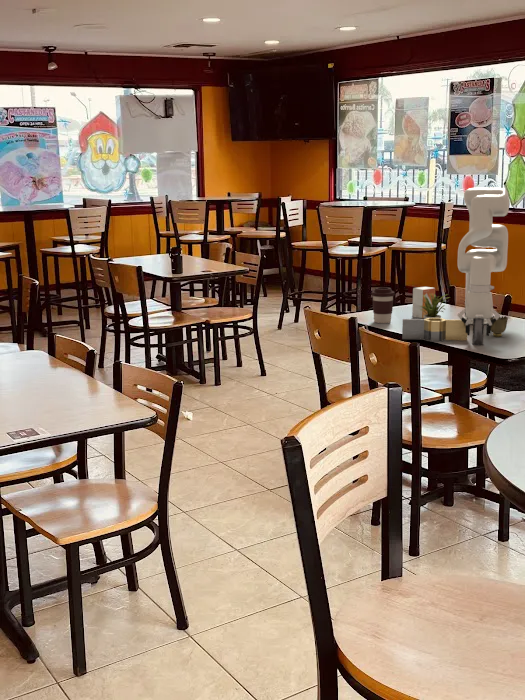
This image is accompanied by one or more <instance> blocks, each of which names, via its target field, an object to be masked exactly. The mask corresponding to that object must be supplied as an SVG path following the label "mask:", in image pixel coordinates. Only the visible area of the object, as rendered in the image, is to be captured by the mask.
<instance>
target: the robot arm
mask: <svg viewBox="0 0 525 700" xmlns="http://www.w3.org/2000/svg"><path fill="white" fill-rule="evenodd" d="M463 199H464V203H465V206H466V209H467V211H468V213H469V214H468V215H469V224H468V225H469V226H468V227H469V228H468V232H467V233H466V234H465V235H463V237H462V238H461V240H460V242H459V244H458V249H457V268H458V271H459V272H461V273H464V274H465V297H464V300H465V301H464V308H463V309H462V310H460V312H459V313H457V317H458V318H459V320H462V321H463V322H464V323H465V324H466V331H465V332H466V333H467V337H468V336H470V335H471V334H470V333H471V332H470V331H471V329H470V328H471V325H473V319H476V318H482V319H484V325H486V330H485V331H486V333H485V334H486V336H487V337H489V336H490V334H491V333H492V332H491V325H492V324H493V323H494V322H495V321H496V320H497V319H498V318H499V317H501V314H500V313H499V312H497V311H496V309H495V308H494V303H493V294H492V292H493V290H495V286H494V285H491V279H492V278H491V273H493V272H494V273H498V272H504V271H505V270H506V268H507V265H508V249H509V246H508V245H509V231H508V228H507V226H505V225H503V224H493V217H505V216H507V215H508V213H509V210H510V209H509V208H510V197H509V192H508V190H507V188H505V187H471V188H470V187H469V188H468V189H466V190H465V191H464V193H463ZM468 246H472V247H475V249H473V248H472V249H469V250H468V251H467V252H466V249H467V248H468ZM486 248H488V249H486ZM489 248H493V249H489ZM491 291H492V292H491ZM476 314H478V315H483V317H475V315H476ZM493 316H494V318H493V319H492V320H490V318H492V317H493Z"/></svg>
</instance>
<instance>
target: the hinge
mask: <svg viewBox="0 0 525 700" xmlns="http://www.w3.org/2000/svg"><path fill="white" fill-rule="evenodd" d="M465 331H466V324H465V323H464V322H463V321H462V320H461V319H445V318H443V317H441V318H427V319H424V318H417V319H416V318H403V319H402V331H401V334H402V336H401V339H402V340H421V341H422V340H424V341H426V342H431V343H432V342H434V343H435V342H437V343H439V342H444V341H468V335H467V333H466V332H465Z"/></svg>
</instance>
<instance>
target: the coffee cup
mask: <svg viewBox="0 0 525 700" xmlns="http://www.w3.org/2000/svg"><path fill="white" fill-rule="evenodd" d="M371 296H372V312H373V321H374V322H375V323H376V324H389V323H391V322H392V315H393V310H394V309H393V306H394V296H395V291H394V290H392V288H391V287H386V286H385V287H384V286H380V287H379V286H378V287H375V289H374V290H372V291H371Z"/></svg>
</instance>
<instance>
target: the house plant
mask: <svg viewBox="0 0 525 700" xmlns="http://www.w3.org/2000/svg"><path fill="white" fill-rule="evenodd" d="M429 294H430V293H429ZM430 295H432V294H430ZM448 295H449V294H448V293H447V294H443V295H442V296H440V298H439V296H437V295H436V293H435V294H434V299H433V297H432V296H431V299H432V305H431V303H430V302H429V300H428V298H427V297H425V296H424V295H423V296H424V298H425V300H426V302H424V301H423V300H422V299H421V300H422V301H423V302H424V303H425V306H424V307H423V306H420V307H422V308H424V309H425V310H426V311H427V313H428V315H424V318H423V319H427V318H442V316H441V315H440V314H438V313H439V312H441V313H444V310H445V311H446V308H445V306H446V304H444V305H443V303H444V302H445V301H446V300H448V299H449V298H451V297H450V296H449V297H446V296H448ZM445 297H446V298H445ZM441 305H442V306H441ZM425 307H426V308H425ZM419 310H422V309H419ZM423 311H424V310H423ZM424 312H425V311H424ZM425 313H426V312H425ZM427 313H426V314H427Z"/></svg>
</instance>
